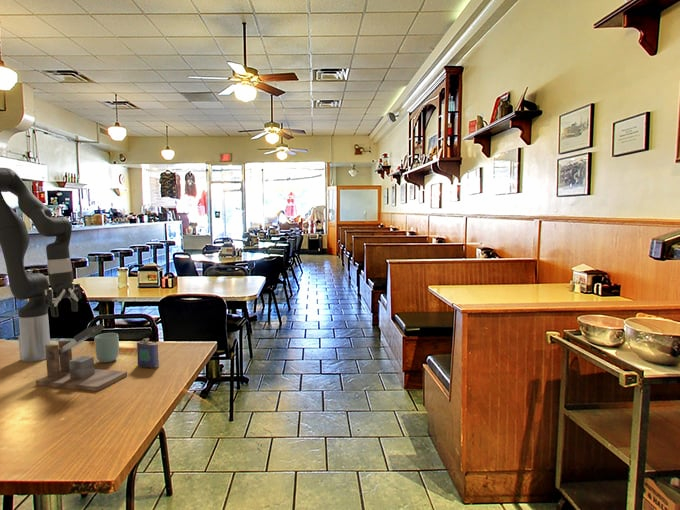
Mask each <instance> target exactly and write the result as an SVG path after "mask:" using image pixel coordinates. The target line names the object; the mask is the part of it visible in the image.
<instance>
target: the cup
mask: <svg viewBox="0 0 680 510" xmlns="http://www.w3.org/2000/svg"><path fill="white" fill-rule="evenodd" d="M119 339H120V338H119V334H118V332H117V333H116V332H106V333H105V332H104V333H100V334H96V335H94V348H95V356H96V360H97V361H98V362H100V363H105V364H106V363H112V362H114V361H115V360H117V359H118V357H119V352H120V341H119Z"/></svg>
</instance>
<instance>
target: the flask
mask: <svg viewBox="0 0 680 510" xmlns="http://www.w3.org/2000/svg"><path fill="white" fill-rule="evenodd" d="M136 348H137V349H136V350H137V351H136V352H137V367H139V368H146V369H151V368H153V369H154V368H156V369H158V368H159V366H160V361H159V344H158V343H157V342H150V338H149V337H147V338H143V339H142V340H139V341H137V342H136ZM157 367H158V368H157Z"/></svg>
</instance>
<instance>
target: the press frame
mask: <svg viewBox="0 0 680 510" xmlns="http://www.w3.org/2000/svg"><path fill="white" fill-rule="evenodd" d="M71 341H72V340H70V339H69V340H68V339H67V340H66V339H59V340H58V341H57V343H58V344H53V343H52V344H51V343H50V344H47V345H45V350H46V359H45V360H46V362H45V363H46V372H47V375H46V376H43V377H41V378H39V379H37V380H35V384H36V386H41V385H42V387H50V386H52V387H53V388H62V389H70V390H72V389H73V390H79V391H89V390H91V392H100V391H101V389H102V390H103V389H106V388H107V387H109V386H111V385H113V384H114V383H116V382H119V381H120V380H122V379H124V378H125V377H127V376H128V371H123V370H111V369H110V370H109V369H99V368H95V359H94V356H86V355H85V356H84V355H81V356H77V357H75V358H73V351H72V349H73V348H72V349H70V350H68V351H67V352H65V353H64V354H62V355H60V356H59V349H60V348H61V347H63V346H64V345H66V344H68V343H69V342H71ZM52 387H51V388H52ZM99 390H100V391H99Z"/></svg>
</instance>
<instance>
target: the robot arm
mask: <svg viewBox="0 0 680 510" xmlns="http://www.w3.org/2000/svg"><path fill="white" fill-rule="evenodd" d="M7 192H9V193H11V194H13V195H14V196H16V197H17V204H18V208H19V210H20V211H21V212H22V213H23V214H24V215H25V216H26V217H27V218H28V219H30V220H31V222H32V224H33V225H34V227H35V229H36V230H37V232H38V233H39V234H40V235H41V236H44V237H47V238H52V237H53V238H54V237H55V240H54V241H53V242H51V243H49V244H47V245H46V247H45V252H46V258H47V259H46V260H47V261H46V262H47V263H46V264H47V265H46V266H47V275H48V278H47V276H46V275H45V274H43V273H41V272H34V273H26V268H25V262H24V261H25V255H26V253H27V250H28V248H29V244H30V237H29V232H28V229H27V224H26V223H25V221H24V219H22V217H21V216H20V215H19V214H18V213H17V212H15V210H14V209H12V207H11V206H9V204H8V203H7V202H6V201H5V200H6V199H4V196H3V193H7ZM52 215H53V214H52V210H51V209H50V208H49V207H48V206H46V204H44V203H43V202H42V201H41V200H40V199H39V198H37V196H36V195H34V193H33V192H32V191H31V190H30V188H29V186H28V185H27V184H26V183H25V182H24V181H23V179H22V178H21V177H20V175H18V173H17V172H16V171H14V170H13V169H11V168H9V167H0V248H1V251H2V255H3V258H4V263H5V266H6V268H5V269H6V273H7V280H8V285H9V289H10V293H11V294H12V296H13V297H14V298H15V299H17V300H20V301H21V300H27V302H26V304H24V305H23V306H22V307H20V308H18V311H17V315H18V324H19V325H18V326H19V335H18V337H17V338H18V349H19V351H18V352H19V360H21V361H22V362H25V363H30V362H31V363H32V362H39V361H42V360H46V350H45V345H47V344H51V335H50V324H49V311H48V310H49V308H50V315H51V317H52V318H57V317H59V307H58V305H59V302H61V300H62V299H65V298H67V299H69V300H70V307H71V308H70V309H71V312H74V313H75V312H78V311H79V303H78V302H79V300H81V299H82V298H83V295H82V290H81V284H80V283H74V276H73V275H74V274H73V266H72V262H71V255H70V248H69V247H70V243H71V237H72V232H73V227H72V223H71V222H70V220H69V219H68V218H66V217H63V216H62V217H61V216H58V217H57V216H56V217H53V216H52ZM50 286H51V288H50Z"/></svg>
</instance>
